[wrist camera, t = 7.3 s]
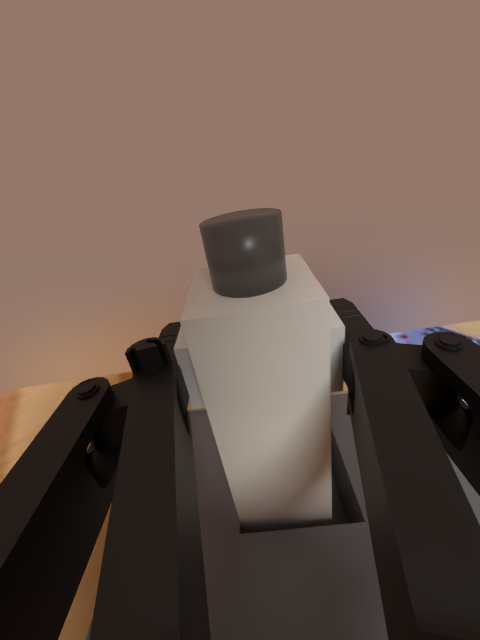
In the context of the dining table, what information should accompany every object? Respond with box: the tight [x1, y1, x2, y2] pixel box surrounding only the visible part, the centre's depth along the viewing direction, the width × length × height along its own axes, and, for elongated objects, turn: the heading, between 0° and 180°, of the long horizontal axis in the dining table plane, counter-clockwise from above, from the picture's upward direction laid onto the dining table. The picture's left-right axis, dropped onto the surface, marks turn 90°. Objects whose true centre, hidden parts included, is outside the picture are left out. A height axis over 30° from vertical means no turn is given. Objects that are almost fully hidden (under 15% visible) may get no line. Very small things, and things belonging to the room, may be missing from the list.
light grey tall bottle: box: [180, 208, 332, 534], centre depth 12 cm, size 4×4×15 cm
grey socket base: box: [86, 380, 480, 640], centre depth 15 cm, size 16×12×4 cm
